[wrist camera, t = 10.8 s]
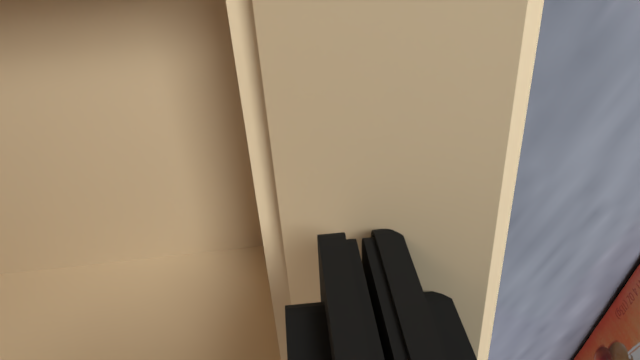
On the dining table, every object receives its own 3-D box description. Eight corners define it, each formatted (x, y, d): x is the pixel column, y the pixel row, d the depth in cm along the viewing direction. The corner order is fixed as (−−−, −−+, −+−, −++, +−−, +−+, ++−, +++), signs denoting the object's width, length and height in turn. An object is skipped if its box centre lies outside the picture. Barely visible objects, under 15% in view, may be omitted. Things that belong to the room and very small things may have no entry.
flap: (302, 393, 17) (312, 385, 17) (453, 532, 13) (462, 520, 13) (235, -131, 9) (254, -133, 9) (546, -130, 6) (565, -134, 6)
